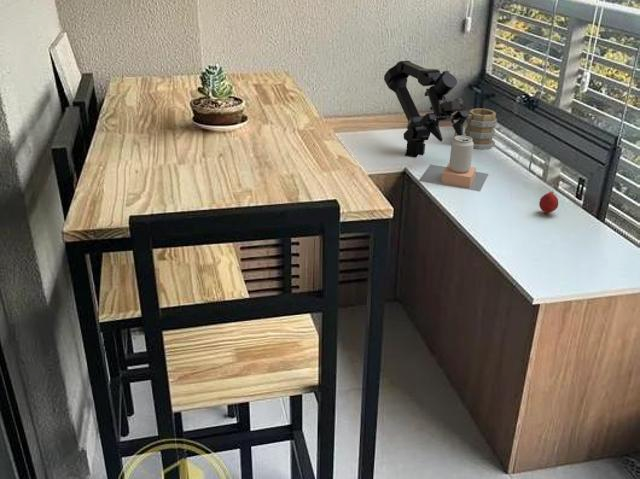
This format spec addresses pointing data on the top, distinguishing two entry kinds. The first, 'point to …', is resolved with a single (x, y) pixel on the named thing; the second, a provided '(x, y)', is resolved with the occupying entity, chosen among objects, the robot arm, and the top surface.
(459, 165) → the can
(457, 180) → the block
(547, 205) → the onion
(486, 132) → the tankard
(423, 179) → the baseplate
